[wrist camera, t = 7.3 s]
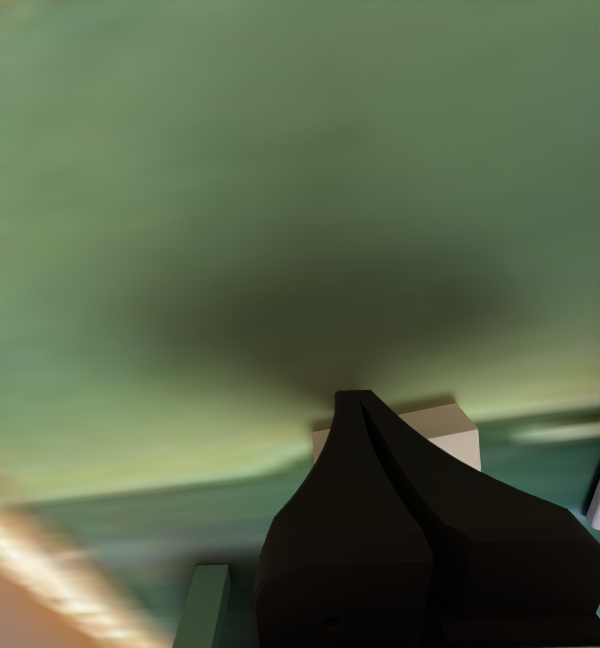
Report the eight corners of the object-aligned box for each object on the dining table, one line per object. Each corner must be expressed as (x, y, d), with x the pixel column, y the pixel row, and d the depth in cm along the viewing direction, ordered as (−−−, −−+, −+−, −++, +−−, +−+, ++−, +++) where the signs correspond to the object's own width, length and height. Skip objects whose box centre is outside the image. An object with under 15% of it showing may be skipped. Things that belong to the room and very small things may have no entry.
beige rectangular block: (452, 398, 13) (477, 428, 11) (473, 608, 18) (493, 656, 16) (312, 427, 14) (314, 461, 12) (367, 624, 18) (374, 672, 16)
